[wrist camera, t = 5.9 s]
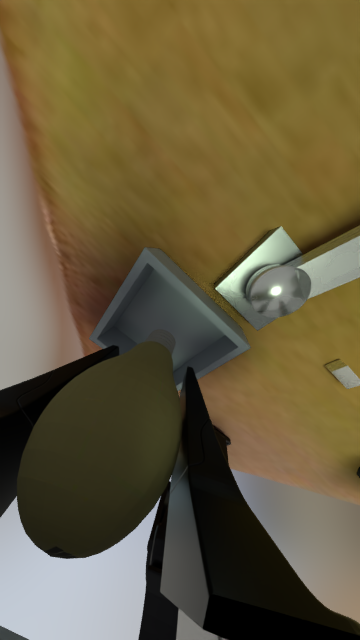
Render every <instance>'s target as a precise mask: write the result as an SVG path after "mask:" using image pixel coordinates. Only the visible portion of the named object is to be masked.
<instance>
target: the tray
mask: <svg viewBox="0 0 360 640" xmlns="http://www.w3.org/2000/svg"><path fill="white" fill-rule="evenodd" d="M157 329H162V330H166V331H168V332H169V333H171V334H172V335H173V337H174V338H175V342H176V344H175V347H174V350H173V353H172V359H173V377H174V381H175V384H176V388H177V391H179V390H180V389H181V388H182V384H183V379H184V375H185V371H186V368H187V366H189V367H193V369H194V372H195V375H196V378H197V379H199V378H201V377H202V376H204V375H206V374H207V373H209V372H211V371H212V370H214V369H216V368H218V367H219V366H221V365H223V364H224V363H226V362H228V361H229V360H231V359H233V358H234V357H236V356H238V355H240V354H241V353H243V352H245V351H246V350H248V349H250V348H251V347H250V345H249V343H248V341H247V339H246V336H245V334H244V332H243V330H242V328H241V327H240V326H239V325H238V324H237V323H236V322H235V321H234V320H233V319H232V318H231V317H230V316H229V315H228V314H227V313H226V312H225V311H224V310H223V309H222V308H221V307H220V306H219V305H217V304H216V303H215V302H214V301H213V300H212V299H211V298H210V297H209V296H208V295H207V294H206V293H205V292H204V291H203V290H202V289H201V288H200V287H199V286H198V285H197V284H196V283H195V282H194V281H193V280H192V279H191V278H190V277H189V276H188V275H187V274H186V273H185V272H183V271H182V270H181V269H180V268H179V267H178V266H177V265H176V264H175V263H174V262H173V261H172V260H171V259H170V258H169V257H168V256H167V255H166V254H165V253H164V252H163V251H162V250H161V249H156V248H146V247H145V248H144V250H143V251H142V253H141V255H140V256H139V258H138V259H137V261H136V263H135V264H134V266H133V268H132V269H131V271H130V272H129V274H128V276H127V277H126V279H125V281H124V282H123V284H122V286H121V287H120V289H119V290H118V292H117V294H116V295H115V297H114V299H113V300H112V302H111V303H110V305H109V307H108V308H107V310H106V312H105V313H104V315H103V316H102V318H101V320H100V321H99V323H98V325H97V326H96V328H95V330H94V331H93V333H92V334H91V336H90V338H89V339H90V340H92V341H93V342H94V343H96V344H97V345H98V346H100V347H101V348H103V349H104V348H107V347H109V346H112V345H116V346H119V355H122V354H124V353H126V352H128V351H130V350H131V349H132V348H134V347H135V346H136V345H138V344H140V343H142V342H145V340H146V339H147V337H148V336H149V335H150V333H151V332H152V331H154V330H157Z"/></svg>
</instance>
